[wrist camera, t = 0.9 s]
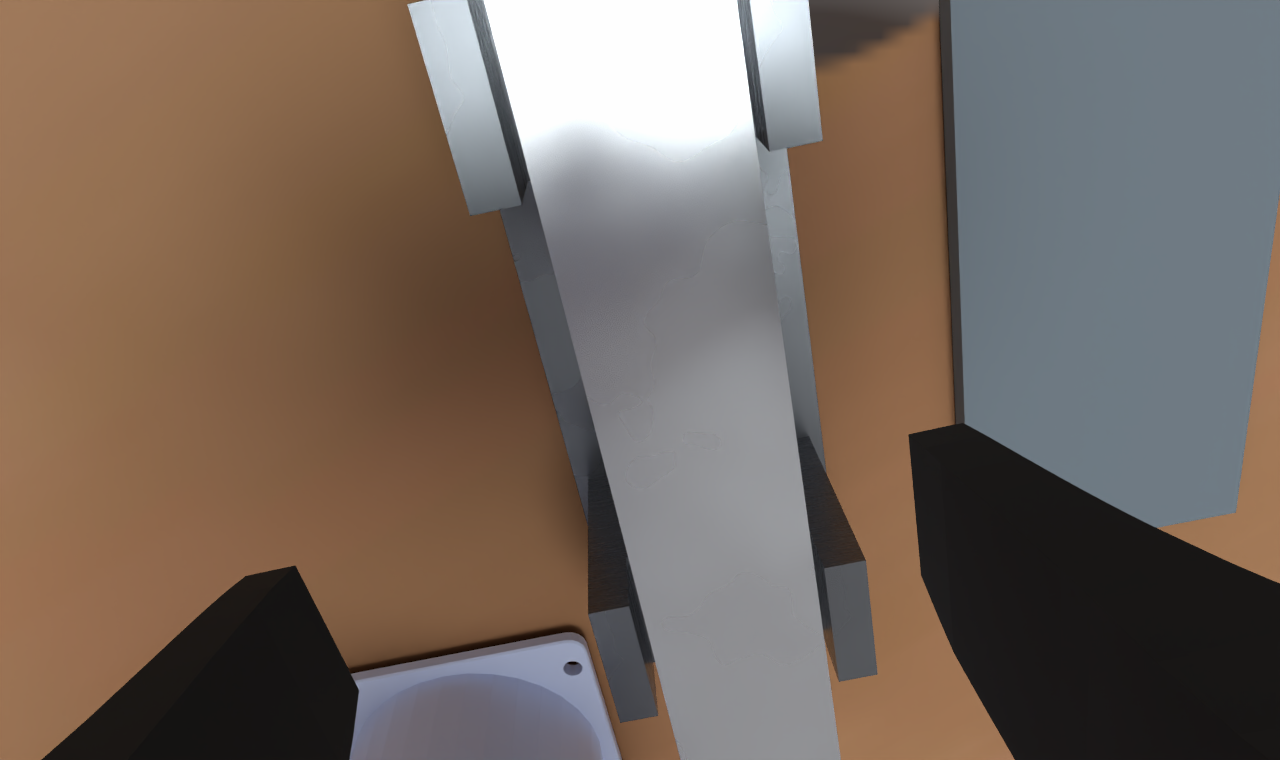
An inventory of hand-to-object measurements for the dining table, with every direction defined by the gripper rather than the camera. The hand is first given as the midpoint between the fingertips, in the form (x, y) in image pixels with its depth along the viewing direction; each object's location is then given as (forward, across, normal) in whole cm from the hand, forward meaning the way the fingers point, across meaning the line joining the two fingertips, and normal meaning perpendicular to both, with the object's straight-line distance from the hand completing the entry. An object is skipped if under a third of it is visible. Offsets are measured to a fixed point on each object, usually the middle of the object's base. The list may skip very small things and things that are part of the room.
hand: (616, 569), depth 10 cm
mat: (+10, -11, +1) cm, 15 cm away
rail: (+6, -1, +1) cm, 7 cm away
